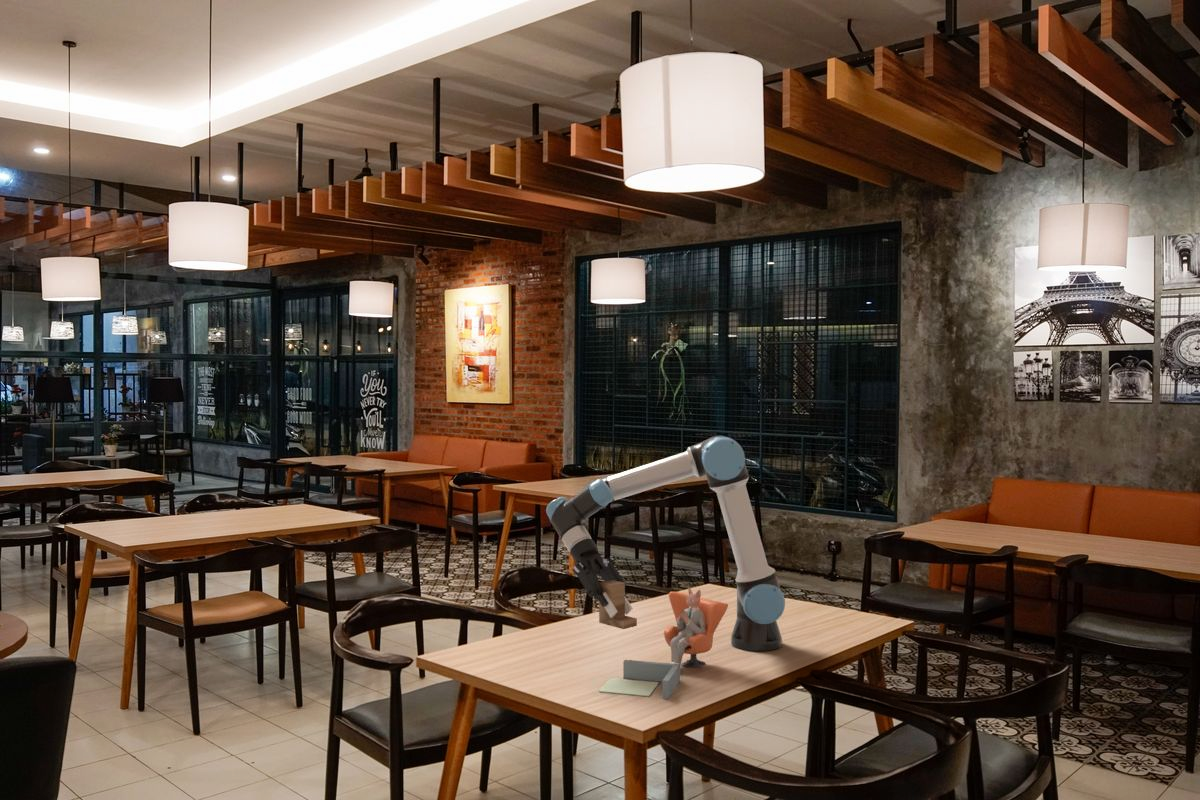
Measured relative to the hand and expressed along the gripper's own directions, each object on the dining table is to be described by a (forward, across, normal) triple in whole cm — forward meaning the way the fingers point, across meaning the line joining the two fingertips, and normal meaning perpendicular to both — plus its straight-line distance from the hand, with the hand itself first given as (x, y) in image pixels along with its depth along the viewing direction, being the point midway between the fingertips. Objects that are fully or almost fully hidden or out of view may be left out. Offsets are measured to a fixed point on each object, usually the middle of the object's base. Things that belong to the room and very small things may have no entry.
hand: (621, 613), depth 250 cm
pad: (+19, +8, -4) cm, 21 cm away
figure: (+18, -16, -5) cm, 25 cm away
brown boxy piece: (+1, 0, -3) cm, 4 cm away
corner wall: (+21, +4, -2) cm, 21 cm away
